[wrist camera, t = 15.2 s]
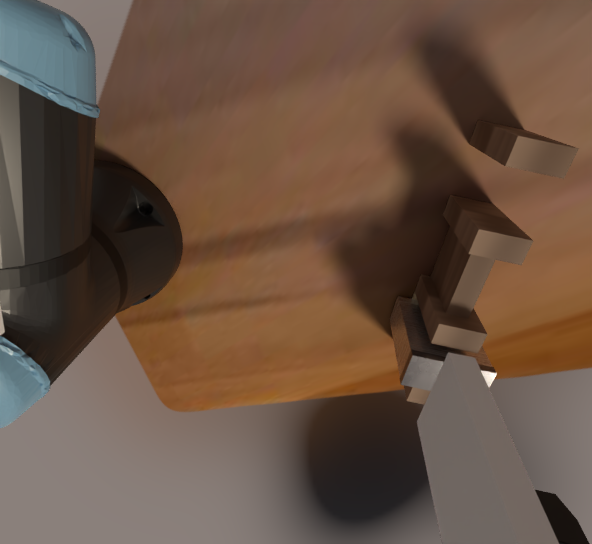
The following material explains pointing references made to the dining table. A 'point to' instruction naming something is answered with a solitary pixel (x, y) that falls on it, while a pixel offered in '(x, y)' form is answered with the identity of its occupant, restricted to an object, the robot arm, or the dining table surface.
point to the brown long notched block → (480, 241)
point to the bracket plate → (424, 348)
